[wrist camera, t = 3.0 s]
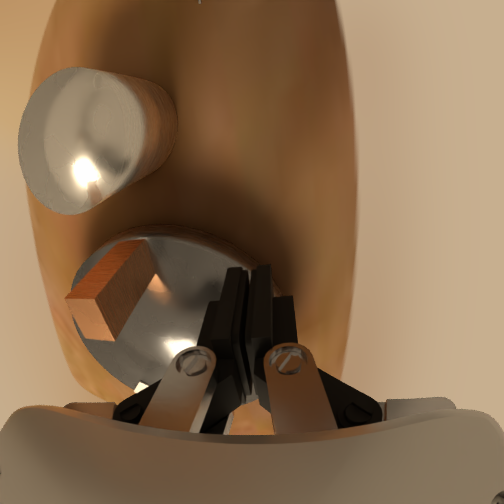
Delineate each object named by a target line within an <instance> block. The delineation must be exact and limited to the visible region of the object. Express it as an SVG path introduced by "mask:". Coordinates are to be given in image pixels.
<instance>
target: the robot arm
mask: <svg viewBox="0 0 504 504" xmlns="http://www.w3.org/2000/svg"><path fill="white" fill-rule="evenodd" d="M253 384H254V389H255V394H256V395H258V398H259V403H260V405H261V406H262V407H263V408H265V409H266V410H267V411H268V412H270V413H271V417H272V423H273V429H274V434H275V435H228V434H229V431H230V428H231V424H232V421H233V418H234V410H235V409H236V408H238V407H239V406H240V405H241V404H246V396H249V395H252V385H253ZM0 504H504V432H503V430H502V428H501V427H500V425H499V424H498V423H497V422H496V421H495V419H494V418H492V417H491V416H490V415H488V414H486V413H484V412H480V411H475V410H466V409H456V406H455V404H454V403H453V402H452V401H451V400H449V399H447V398H444V397H432V398H417V399H387V400H386V402H377V401H375V400H374V399H373V398H371V397H369V396H367V395H365V394H364V393H362V392H360V391H358V390H356V389H354V388H352V387H351V386H349V385H347V384H345V383H343V382H342V381H340V380H338V379H336V378H334V377H333V376H331V375H329V374H327V373H326V372H324V371H322V370H321V369H319V368H317V366H316V364H315V361H314V358H313V355H312V353H311V352H310V350H309V349H307V348H306V347H305V346H303V345H300V344H298V339H297V329H296V320H295V311H294V302H293V296H280V297H274V292H273V281H272V271H271V264H267V265H257V267H256V269H252V270H251V279H250V281H249V274H248V270H243V268H242V267H229V268H227V272H226V276H225V280H224V284H223V288H222V292H221V296H220V300H217V301H209V303H208V306H207V310H206V313H205V316H204V320H203V323H202V327H201V330H200V334H199V337H198V341H197V344H196V346H192V347H188V348H186V349H183V350H181V351H180V352H179V353H177V354H176V355H175V357H174V358H173V359H172V361H171V363H170V365H169V367H168V369H167V371H166V373H165V374H164V376H163V378H162V379H160V380H159V381H157V382H155V383H153V384H152V385H150V386H148V387H146V388H145V389H143V390H141V391H139V392H138V393H136V394H134V395H132V396H130V397H129V398H127V399H125V400H123V401H122V402H121V403H119V405H116V404H115V402H106V403H77V402H74V403H69V404H67V405H66V406H64V407H57V406H50V405H49V406H48V405H34V406H26V407H22V408H20V409H18V410H16V411H15V412H14V413H13V414H12V415H11V416H10V417H9V419H8V420H7V422H6V423H5V425H4V426H3V428H2V430H1V431H0Z"/></svg>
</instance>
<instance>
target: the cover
mask: <svg viewBox="0 0 504 504" xmlns="http://www.w3.org/2000/svg"><path fill="white" fill-rule="evenodd" d="M177 131H178V119H177V113H176V109H175V106H174V103H173V101H172V100H171V98H170V96H169V95H168V94H167V92H166V91H165V90H164V89H163V88H161V87H160V86H159V85H157V84H156V83H154V82H152V81H149V80H145V79H141V78H137V77H132V76H128V75H123V74H118V73H113V72H107V71H102V70H96V69H89V68H82V67H72V68H66V69H63V70H60V71H58V72H56V73H54V74H53V75H51V76H50V77H48V78H47V79H46V80H45V81H44V82H43V83H41V85H40V86H39V87H38V88H37V89H36V90H35V92H34V93H33V95H32V96H31V98H30V100H29V102H28V103H27V106H26V108H25V110H24V113H23V116H22V119H21V123H20V128H19V135H18V154H19V161H20V166H21V170H22V173H23V176H24V178H25V181H26V183H27V185H28V187H29V188H30V190H31V192H32V193H33V194H34V196H35V197H36V198H37V199H38V200H39V201H40V202H41V203H42V204H43V205H44V206H46V207H47V208H49V209H51V210H52V211H55V212H57V213H61V214H66V215H74V214H80V213H83V212H86V211H88V210H90V209H91V208H93V207H95V206H96V205H98V204H99V203H101V202H102V201H104V200H106V199H107V198H109V197H111V196H112V195H114V194H116V193H117V192H119V191H121V190H122V189H124V188H126V187H127V186H129V185H131V184H133V183H134V182H136V181H138V180H140V179H142V178H143V177H145V176H147V175H149V174H150V173H152V172H154V171H155V170H156V169H158V168H159V167H160V166H161V165H162V164H163V163H164V162H165V160H166V159H167V158H168V156H169V155H170V153H171V151H172V149H173V147H174V144H175V141H176V137H177Z"/></svg>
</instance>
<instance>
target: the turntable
mask: <svg viewBox="0 0 504 504" xmlns="http://www.w3.org/2000/svg"><path fill="white" fill-rule="evenodd" d="M257 265H260V264H259V263H258V262H257V261H255V260H254V259H253V258H252V257H250V256H249V255H248V254H247V253H246V252H244V251H242V250H241V249H239V248H238V247H236V246H235V245H233V244H231V243H230V242H228V241H225V240H223V239H221V238H219V237H217V236H215V235H213V234H210V233H207V232H204V231H201V230H198V229H194V228H189V227H185V226H180V225H168V224H154V225H144V226H139V227H134V228H131V229H128V230H126V231H123V232H120V233H118V234H117V235H115V236H113V237H112V238H110V239H109V240H107V241H106V242H105V243H104V244H103V245H102V246H101V247H100V248H98V249H97V250H96V251H95V252H94V253H93V254H92V255H91V256H90V257H89V258H88V259H87V260H86V261H85V262H84V263H83V264H82V266H81V267H80V268H79V270H78V271H77V273H76V276H75V278H74V280H73V284H72V288H71V292H70V293H69V294H68V295H67V296H66V297H65V301H66V303H67V305H68V307H69V309H70V311H71V313H72V317H73V321H74V324H75V326H76V329H77V331H78V333H79V335H80V337H81V339H82V341H83V343H84V344H85V346H86V347H87V349H88V350H89V352H90V353H91V354H92V355H93V357H94V358H95V359H96V360H97V361H98V362H99V363H100V364H101V365H102V366H103V367H104V368H105V369H106V370H107V371H108V372H109V373H110V374H111V375H113V376H114V377H115V378H117V379H118V380H119V381H121V382H122V383H124V384H125V385H127V386H128V387H130V388H132V389H133V390H134V392H136V393H138V392H139V391H141V390H143V389H145V388H146V387H148V386H150V385H152V384H153V383H155V382H157V381H159V380H160V379H162V378H163V376H164V374H165V373H166V371H167V369H168V367H169V365H170V363H171V361H172V359H173V358H174V357H175V355H176V354H177V353H179V352H180V351H181V350H183V349H186V348H188V347H192V346H196V344H197V341H198V337H199V334H200V330H201V327H202V323H203V320H204V316H205V313H206V310H207V306H208V303H209V301H217V300H220V296H221V292H222V288H223V284H224V280H225V276H226V272H227V268H229V267H242V268H243V270H248V274H249V281H250V279H251V270H252V269H256V267H257ZM272 281H273V292H274V297H280V296H283V295H282V293H281V291H280V289H279V287H278V286H277V284H276V283H275V282H274V280H273V279H272ZM256 399H258V395H256V394H255V389H254V384H253V385H252V395H249V396H246V404H247V403H249V402H252V401H254V400H256ZM241 405H244V404H241Z"/></svg>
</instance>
